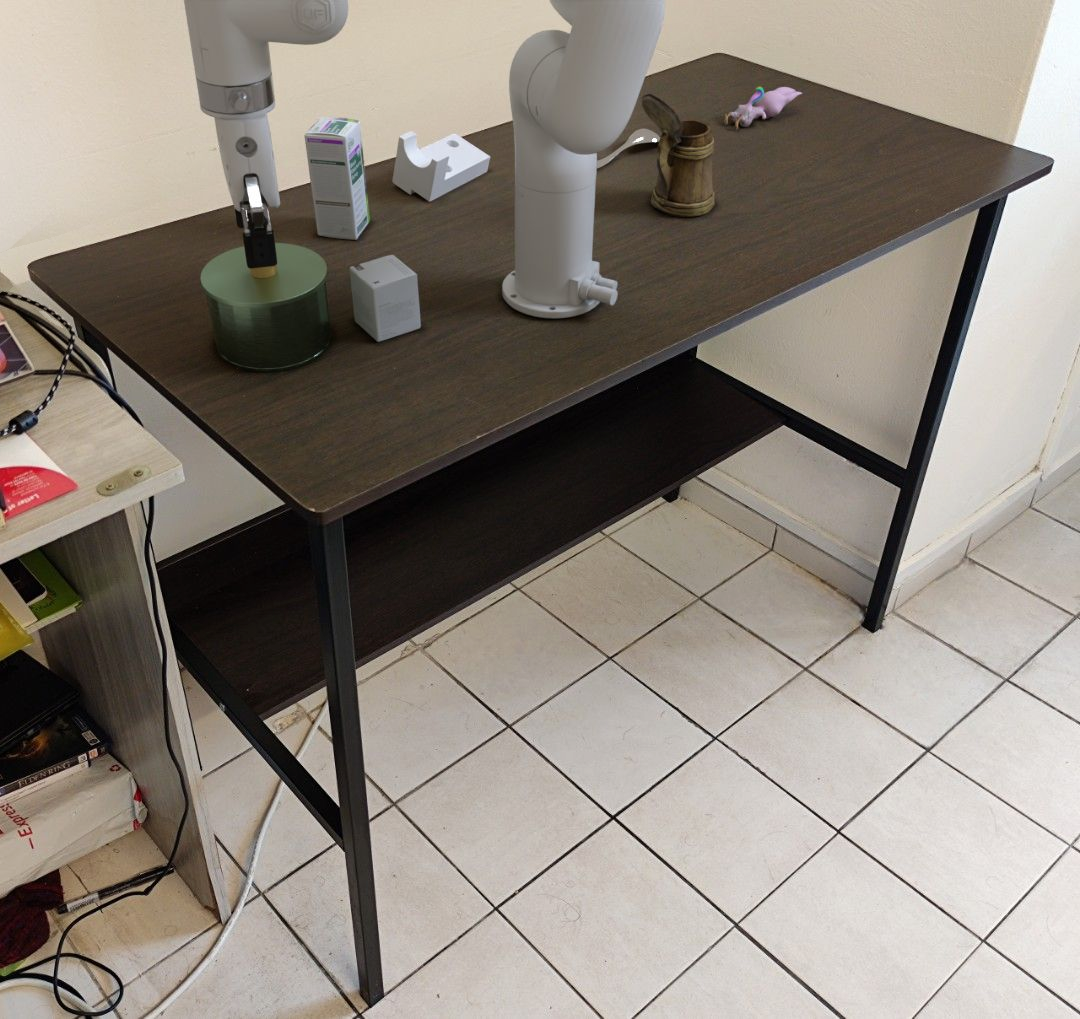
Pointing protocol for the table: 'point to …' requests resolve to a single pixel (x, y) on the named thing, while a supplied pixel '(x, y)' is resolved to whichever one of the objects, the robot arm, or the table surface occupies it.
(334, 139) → the syrup box
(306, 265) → the tin lid
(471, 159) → the bracket
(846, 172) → the table surface
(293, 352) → the tin
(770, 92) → the pink creature figurine
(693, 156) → the wooden mug
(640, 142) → the metal spoon
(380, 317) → the product carton
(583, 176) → the robot arm
